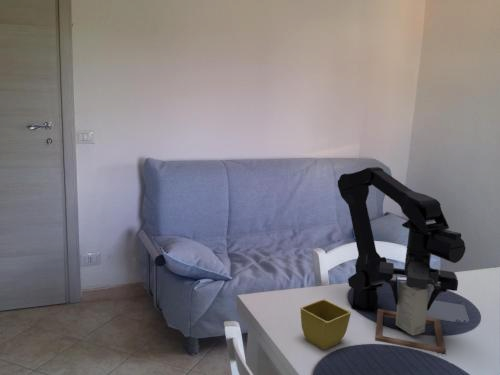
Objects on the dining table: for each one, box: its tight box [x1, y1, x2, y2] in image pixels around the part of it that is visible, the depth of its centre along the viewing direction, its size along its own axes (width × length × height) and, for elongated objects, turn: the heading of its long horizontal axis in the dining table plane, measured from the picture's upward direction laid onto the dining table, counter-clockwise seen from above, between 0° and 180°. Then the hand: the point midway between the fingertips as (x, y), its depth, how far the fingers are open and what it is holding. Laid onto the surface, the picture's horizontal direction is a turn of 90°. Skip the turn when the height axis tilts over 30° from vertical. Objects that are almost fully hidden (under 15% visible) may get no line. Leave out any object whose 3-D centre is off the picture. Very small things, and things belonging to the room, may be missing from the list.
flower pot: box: [300, 299, 352, 350], centre depth 107 cm, size 9×9×9 cm
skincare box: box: [395, 280, 430, 336], centre depth 112 cm, size 6×4×12 cm
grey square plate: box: [426, 299, 470, 323], centre depth 126 cm, size 12×12×1 cm
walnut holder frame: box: [374, 308, 447, 355], centre depth 114 cm, size 16×16×2 cm
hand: (411, 306), depth 112 cm, fingers closed on skincare box, 7 cm apart
